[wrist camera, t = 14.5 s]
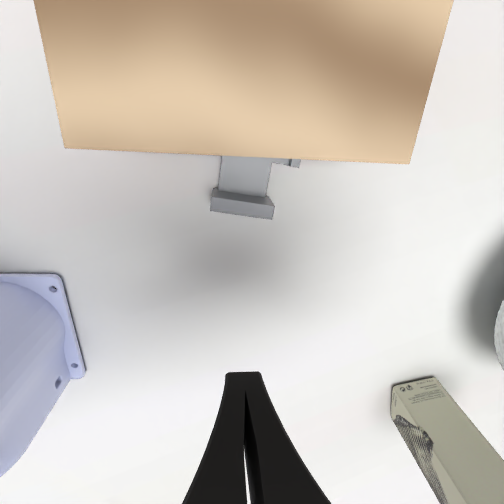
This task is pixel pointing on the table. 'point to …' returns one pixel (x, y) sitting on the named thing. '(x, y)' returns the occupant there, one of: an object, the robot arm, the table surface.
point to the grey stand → (246, 186)
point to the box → (447, 445)
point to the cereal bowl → (500, 335)
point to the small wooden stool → (244, 75)
